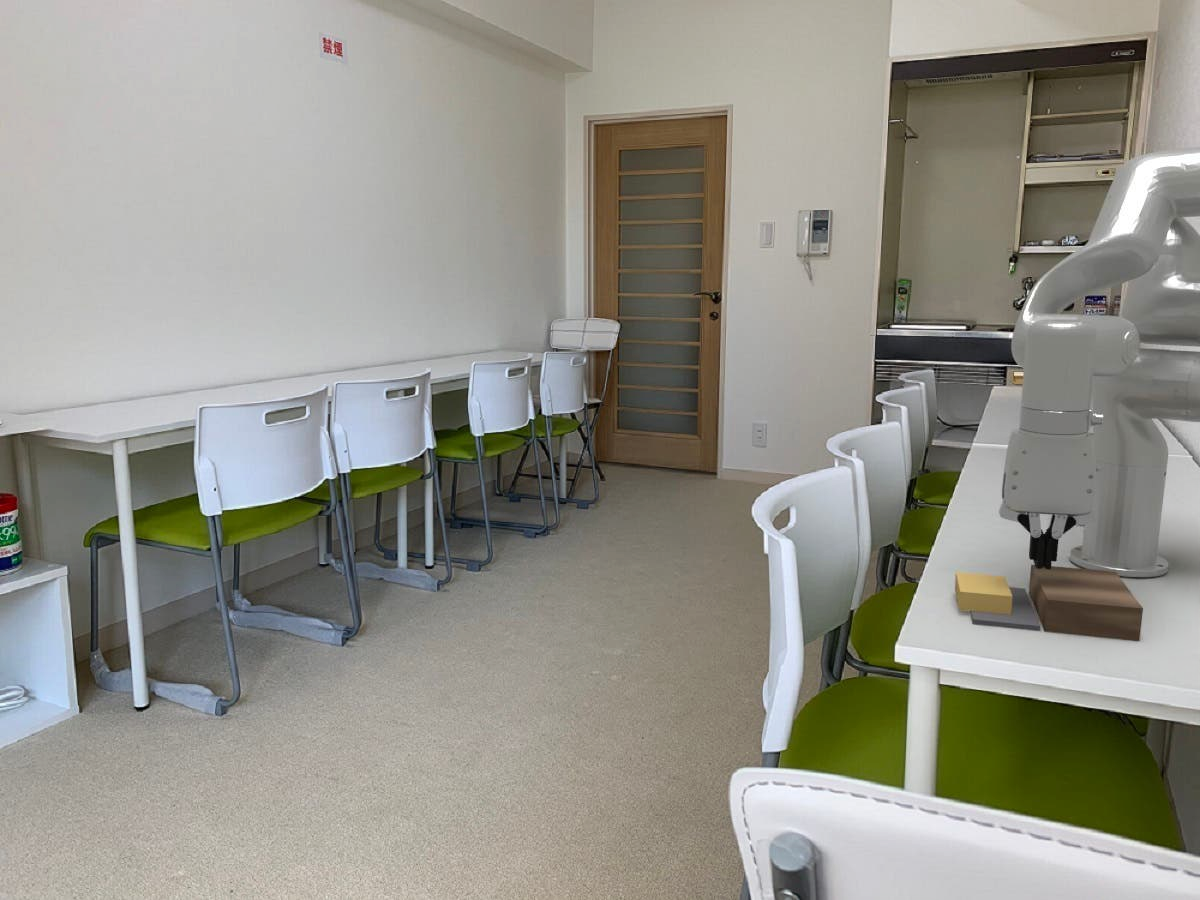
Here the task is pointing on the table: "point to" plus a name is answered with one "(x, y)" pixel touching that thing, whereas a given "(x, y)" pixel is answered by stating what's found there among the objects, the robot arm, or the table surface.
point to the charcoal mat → (1019, 616)
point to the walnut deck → (1085, 603)
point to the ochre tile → (983, 593)
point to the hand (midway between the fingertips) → (1042, 565)
